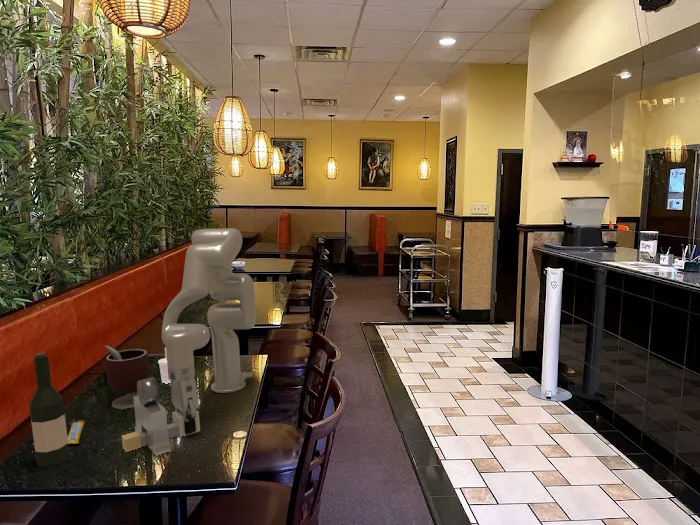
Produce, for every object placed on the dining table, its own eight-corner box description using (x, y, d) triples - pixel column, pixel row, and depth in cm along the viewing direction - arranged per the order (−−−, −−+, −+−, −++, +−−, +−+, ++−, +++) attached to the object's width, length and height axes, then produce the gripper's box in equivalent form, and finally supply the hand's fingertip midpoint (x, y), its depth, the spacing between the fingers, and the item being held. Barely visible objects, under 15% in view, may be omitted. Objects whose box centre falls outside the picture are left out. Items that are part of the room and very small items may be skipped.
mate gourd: (160, 395, 184) (155, 341, 182) (134, 411, 171) (129, 353, 168) (124, 392, 188) (119, 339, 186) (96, 407, 175) (90, 351, 173)
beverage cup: (180, 381, 198) (177, 346, 196) (166, 386, 193) (163, 350, 191) (169, 378, 201) (166, 344, 200) (156, 383, 196) (153, 348, 194)
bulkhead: (148, 429, 157) (143, 369, 155) (171, 451, 142) (165, 386, 140) (135, 433, 155) (129, 372, 152) (156, 456, 140) (150, 390, 138)
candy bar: (71, 426, 162) (70, 420, 162) (86, 423, 164) (85, 418, 164) (62, 450, 147) (61, 444, 147) (78, 447, 148) (77, 441, 148)
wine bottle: (45, 470, 135) (32, 360, 131) (29, 462, 139) (15, 356, 135) (76, 456, 142) (64, 351, 138) (60, 449, 146) (48, 347, 142)
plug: (192, 424, 159) (191, 406, 158) (200, 431, 155) (198, 412, 154) (121, 447, 146) (119, 427, 145) (127, 455, 141) (125, 434, 141)
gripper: (205, 375, 148) (210, 434, 151) (182, 362, 161) (187, 416, 164) (180, 382, 143) (185, 443, 146) (158, 368, 157) (163, 423, 159)
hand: (186, 428), depth 155 cm, fingers closed on plug, 5 cm apart
